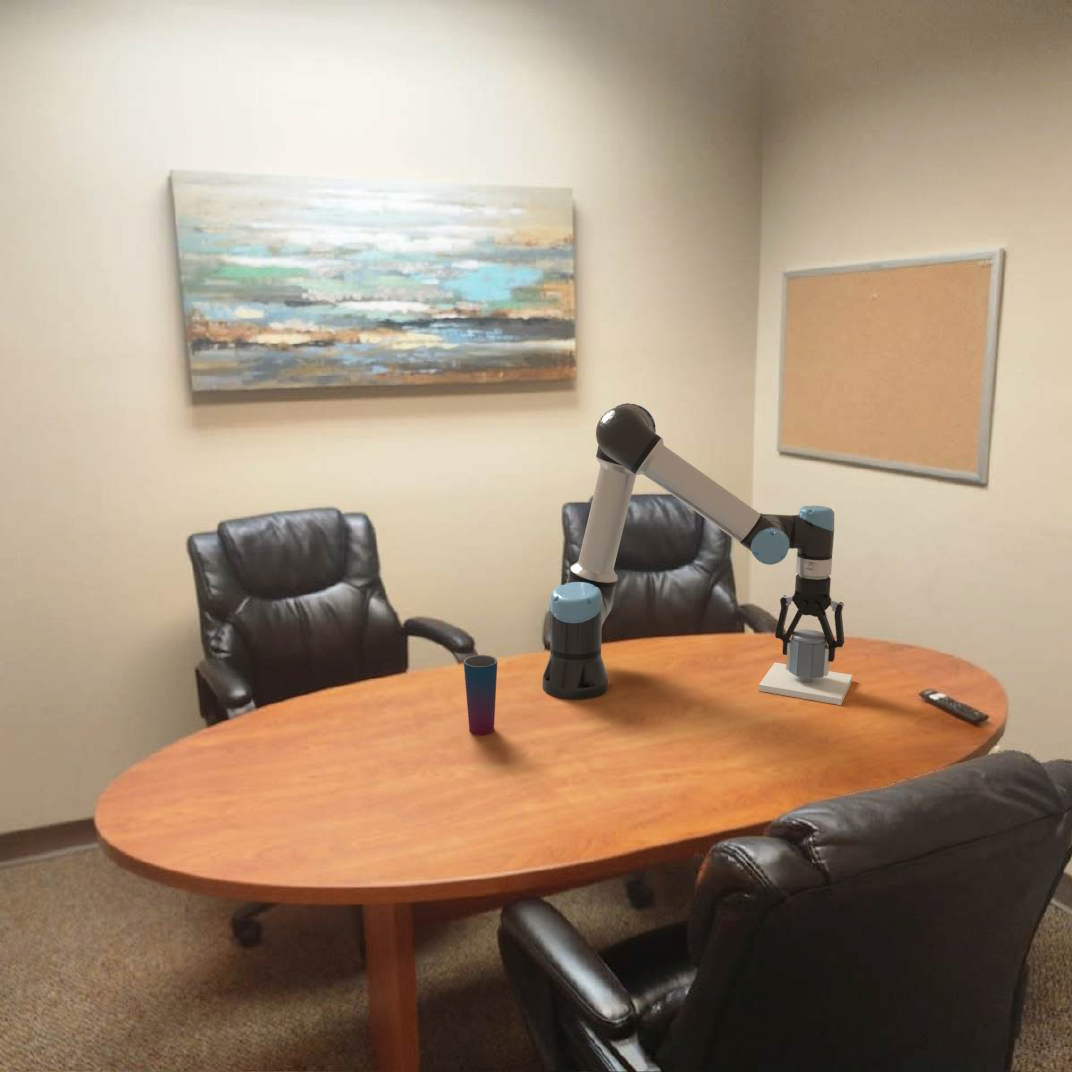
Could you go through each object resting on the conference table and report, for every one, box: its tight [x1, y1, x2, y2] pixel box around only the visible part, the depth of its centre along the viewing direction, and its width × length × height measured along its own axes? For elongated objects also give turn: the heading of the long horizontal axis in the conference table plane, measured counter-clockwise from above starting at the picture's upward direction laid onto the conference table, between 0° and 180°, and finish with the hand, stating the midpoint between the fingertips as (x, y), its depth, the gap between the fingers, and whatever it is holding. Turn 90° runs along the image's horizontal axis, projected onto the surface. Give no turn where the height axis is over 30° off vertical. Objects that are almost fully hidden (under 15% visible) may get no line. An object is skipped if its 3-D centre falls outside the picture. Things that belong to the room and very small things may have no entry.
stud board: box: [758, 662, 853, 706], centre depth 203 cm, size 18×16×8 cm
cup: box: [463, 654, 498, 736], centre depth 179 cm, size 7×7×15 cm
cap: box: [789, 629, 828, 679], centre depth 202 cm, size 8×8×9 cm
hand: (807, 671), depth 203 cm, fingers closed on cap, 8 cm apart
